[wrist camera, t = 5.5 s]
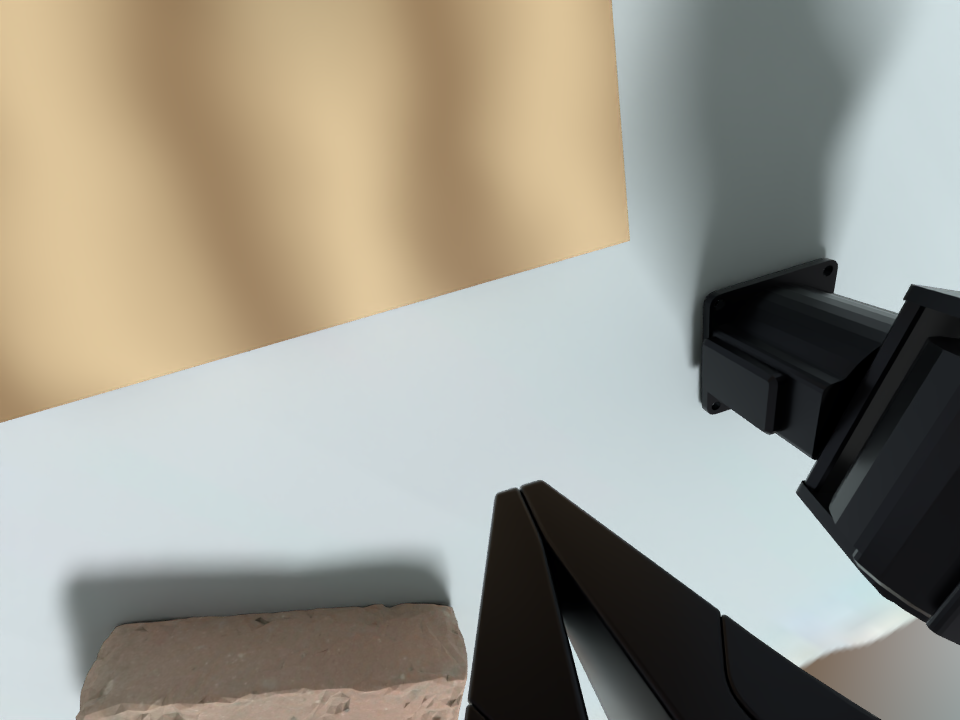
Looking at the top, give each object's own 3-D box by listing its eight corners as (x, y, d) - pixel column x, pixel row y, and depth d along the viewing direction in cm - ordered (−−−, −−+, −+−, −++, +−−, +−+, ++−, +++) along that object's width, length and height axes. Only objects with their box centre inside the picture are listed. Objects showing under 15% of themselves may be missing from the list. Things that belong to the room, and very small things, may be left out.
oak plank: (575, -113, 12) (600, -146, 11) (608, 234, 17) (629, 240, 15) (-334, 67, 10) (-441, 53, 9) (-28, 416, 14) (-69, 442, 13)
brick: (127, 722, 24) (76, 843, 20) (109, 613, 21) (45, 730, 16) (434, 684, 29) (446, 776, 24) (458, 591, 25) (477, 678, 21)
